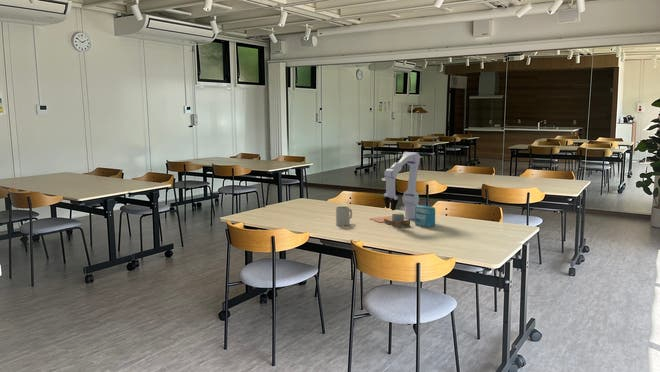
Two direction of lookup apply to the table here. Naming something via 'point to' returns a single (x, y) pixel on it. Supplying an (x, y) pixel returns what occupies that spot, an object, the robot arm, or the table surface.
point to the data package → (425, 216)
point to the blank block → (397, 217)
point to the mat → (381, 219)
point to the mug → (343, 215)
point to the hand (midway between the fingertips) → (390, 209)
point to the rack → (397, 223)
